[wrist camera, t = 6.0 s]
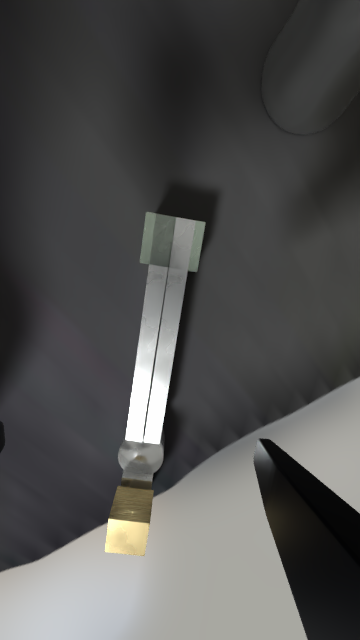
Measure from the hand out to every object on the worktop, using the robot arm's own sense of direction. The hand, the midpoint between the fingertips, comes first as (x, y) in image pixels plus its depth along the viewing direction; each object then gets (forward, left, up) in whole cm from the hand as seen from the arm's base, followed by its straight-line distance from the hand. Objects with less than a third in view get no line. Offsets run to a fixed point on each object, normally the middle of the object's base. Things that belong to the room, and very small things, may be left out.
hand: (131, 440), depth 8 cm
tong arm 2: (+1, +1, -11) cm, 11 cm away
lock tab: (0, -13, -8) cm, 15 cm away
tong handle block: (0, -11, -11) cm, 15 cm away
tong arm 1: (-1, +1, -11) cm, 11 cm away
